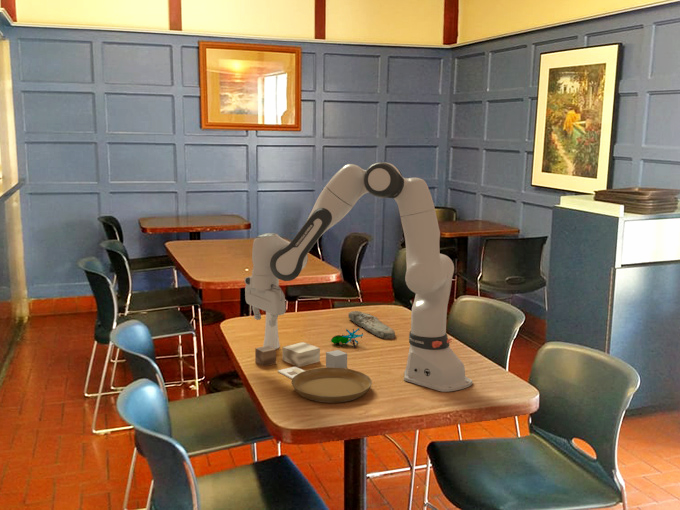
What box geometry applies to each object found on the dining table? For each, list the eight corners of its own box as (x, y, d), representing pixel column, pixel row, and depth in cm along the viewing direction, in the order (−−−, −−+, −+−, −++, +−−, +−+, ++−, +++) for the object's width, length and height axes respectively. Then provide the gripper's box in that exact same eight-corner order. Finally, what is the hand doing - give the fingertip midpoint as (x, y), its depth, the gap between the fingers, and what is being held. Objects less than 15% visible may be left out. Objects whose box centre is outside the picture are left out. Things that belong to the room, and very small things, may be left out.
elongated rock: (378, 344, 256) (401, 343, 260) (379, 331, 255) (402, 330, 259) (341, 317, 287) (363, 316, 291) (343, 305, 286) (364, 304, 290)
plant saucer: (321, 413, 187) (321, 401, 187) (276, 387, 206) (276, 376, 206) (387, 395, 201) (388, 384, 201) (340, 372, 220) (340, 362, 220)
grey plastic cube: (347, 368, 224) (347, 353, 223) (334, 370, 221) (335, 356, 220) (337, 364, 228) (338, 349, 227) (325, 366, 225) (326, 352, 224)
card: (313, 376, 215) (313, 374, 215) (295, 380, 211) (295, 378, 211) (295, 367, 223) (295, 366, 223) (277, 371, 219) (277, 370, 219)
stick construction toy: (363, 336, 253) (360, 323, 248) (367, 351, 248) (363, 338, 243) (332, 344, 253) (328, 332, 248) (336, 359, 249) (331, 347, 243)
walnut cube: (275, 363, 227) (276, 349, 226) (263, 366, 224) (263, 352, 223) (268, 359, 231) (268, 345, 230) (255, 362, 228) (255, 348, 227)
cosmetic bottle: (271, 350, 241) (272, 290, 237) (259, 347, 245) (259, 287, 241) (283, 346, 246) (283, 287, 242) (271, 343, 249) (271, 285, 246)
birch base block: (319, 362, 230) (319, 348, 229) (299, 367, 224) (299, 353, 223) (302, 355, 237) (303, 342, 236) (282, 361, 231) (282, 346, 230)
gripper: (290, 286, 217) (289, 328, 219) (258, 275, 233) (257, 314, 235) (273, 289, 213) (273, 331, 216) (241, 277, 229) (241, 317, 232)
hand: (264, 322), depth 226 cm, fingers open, 8 cm apart
